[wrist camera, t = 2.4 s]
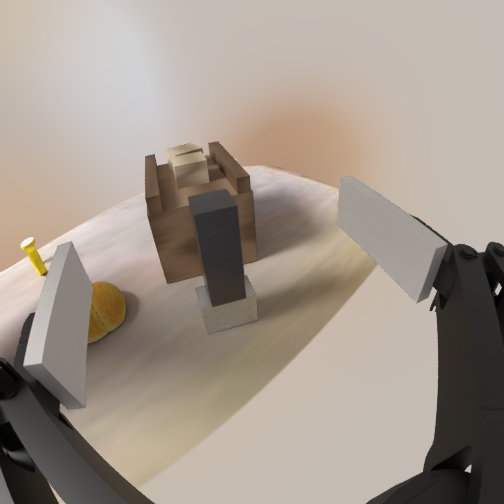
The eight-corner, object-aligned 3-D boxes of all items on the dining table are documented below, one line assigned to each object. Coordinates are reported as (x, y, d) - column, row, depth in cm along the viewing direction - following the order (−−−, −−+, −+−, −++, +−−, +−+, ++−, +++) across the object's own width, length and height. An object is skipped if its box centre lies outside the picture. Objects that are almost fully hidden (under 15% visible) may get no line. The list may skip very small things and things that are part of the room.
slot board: (167, 283, 37) (143, 198, 30) (158, 222, 49) (143, 156, 42) (257, 260, 39) (251, 175, 32) (226, 207, 52) (219, 141, 45)
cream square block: (177, 189, 36) (174, 166, 34) (175, 178, 39) (171, 157, 37) (209, 182, 36) (206, 159, 35) (203, 171, 39) (201, 151, 38)
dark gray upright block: (208, 335, 30) (179, 218, 22) (201, 312, 33) (175, 199, 24) (258, 321, 31) (250, 202, 23) (248, 300, 34) (238, 186, 26)
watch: (31, 270, 41) (17, 241, 38) (43, 261, 43) (29, 233, 39) (40, 281, 38) (23, 250, 35) (52, 272, 40) (37, 241, 36)
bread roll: (140, 315, 33) (129, 290, 31) (81, 358, 28) (65, 335, 25) (109, 284, 37) (99, 261, 35) (58, 319, 32) (44, 297, 30)
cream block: (178, 175, 39) (175, 155, 37) (169, 168, 42) (166, 149, 40) (204, 167, 41) (202, 147, 39) (193, 161, 44) (191, 142, 42)
